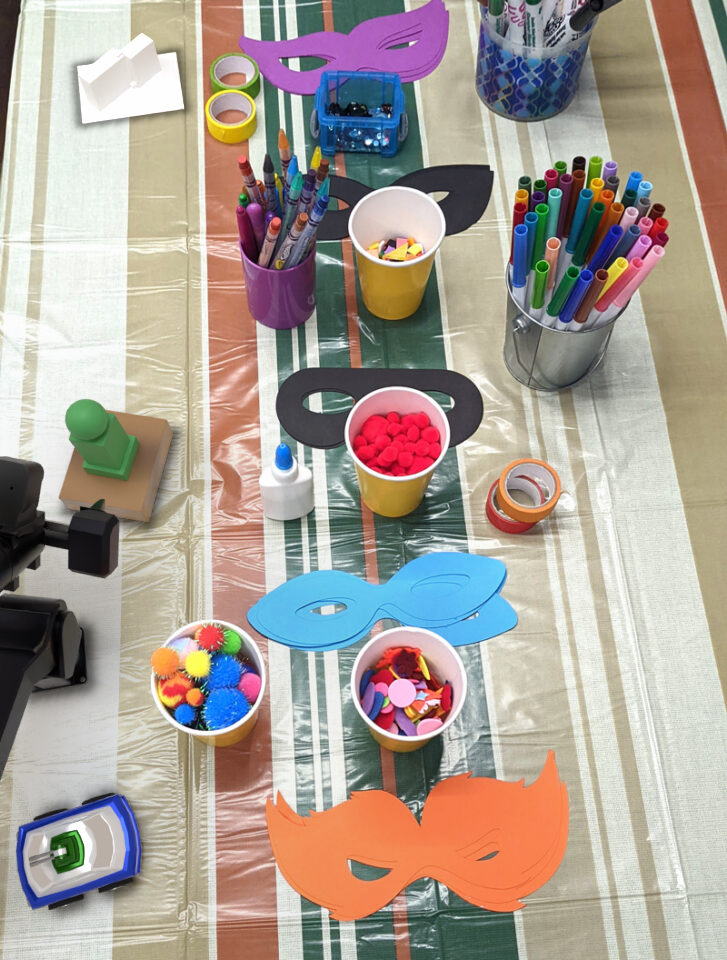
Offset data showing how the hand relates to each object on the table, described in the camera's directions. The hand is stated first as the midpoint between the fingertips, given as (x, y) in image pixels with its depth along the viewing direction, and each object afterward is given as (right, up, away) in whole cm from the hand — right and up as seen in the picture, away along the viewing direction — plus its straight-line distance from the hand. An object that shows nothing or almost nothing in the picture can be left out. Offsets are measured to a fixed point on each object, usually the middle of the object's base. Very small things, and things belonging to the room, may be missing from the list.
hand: (61, 494), depth 93 cm
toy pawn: (+2, +4, +12) cm, 13 cm away
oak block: (+2, +3, +16) cm, 16 cm away
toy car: (+3, -38, 0) cm, 38 cm away
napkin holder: (-3, +60, +38) cm, 71 cm away
